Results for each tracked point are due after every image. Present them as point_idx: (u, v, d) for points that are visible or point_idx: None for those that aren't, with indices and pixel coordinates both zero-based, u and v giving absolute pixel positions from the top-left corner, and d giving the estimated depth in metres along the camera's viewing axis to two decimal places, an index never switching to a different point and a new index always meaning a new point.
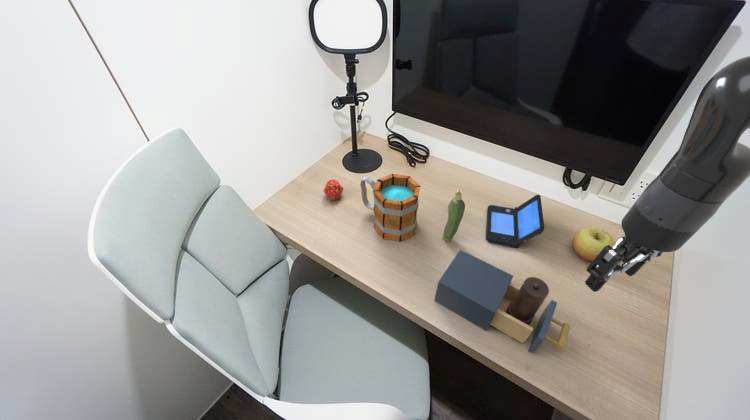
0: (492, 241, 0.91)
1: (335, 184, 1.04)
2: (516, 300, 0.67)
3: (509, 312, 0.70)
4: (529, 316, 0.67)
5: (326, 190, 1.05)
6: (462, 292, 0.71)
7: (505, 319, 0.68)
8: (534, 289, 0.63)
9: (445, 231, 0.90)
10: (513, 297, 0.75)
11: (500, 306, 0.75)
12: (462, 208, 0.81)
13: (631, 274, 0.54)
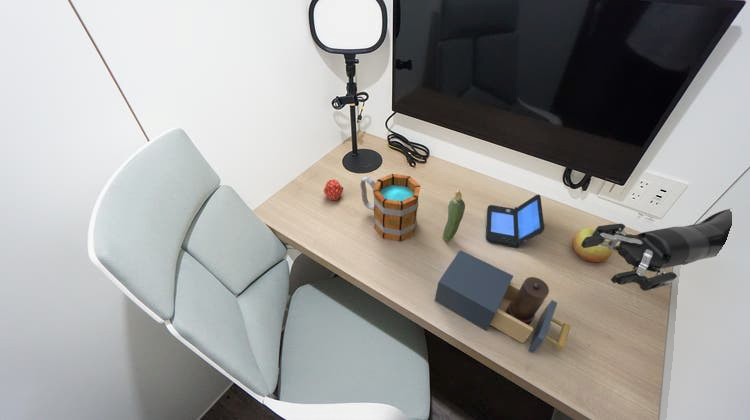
0: (492, 241, 0.91)
1: (335, 184, 1.04)
2: (516, 300, 0.67)
3: (509, 312, 0.70)
4: (529, 316, 0.67)
5: (326, 190, 1.05)
6: (462, 292, 0.71)
7: (505, 319, 0.68)
8: (534, 289, 0.63)
9: (445, 231, 0.90)
10: (513, 297, 0.75)
11: (500, 306, 0.75)
12: (462, 208, 0.81)
13: (617, 274, 0.58)
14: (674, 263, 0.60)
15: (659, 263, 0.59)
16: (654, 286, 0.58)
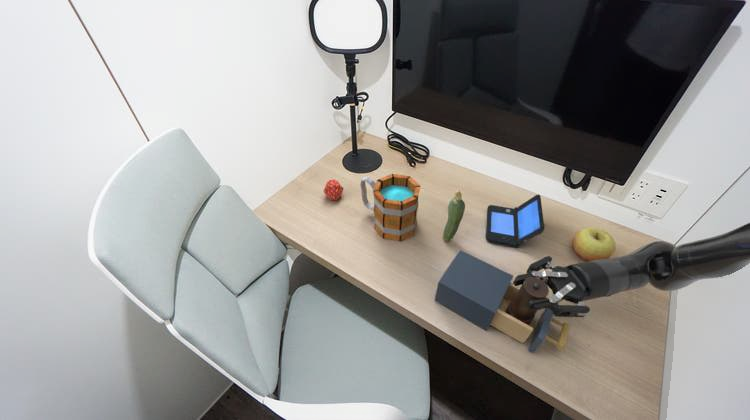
0: (492, 241, 0.91)
1: (335, 184, 1.04)
2: (516, 300, 0.67)
3: (509, 312, 0.70)
4: (529, 316, 0.67)
5: (326, 190, 1.05)
6: (462, 292, 0.71)
7: (505, 319, 0.68)
8: (534, 289, 0.63)
9: (445, 231, 0.90)
10: (513, 297, 0.75)
11: (500, 306, 0.75)
12: (462, 208, 0.81)
13: None
14: (596, 296, 0.63)
15: (581, 296, 0.62)
16: (566, 314, 0.61)
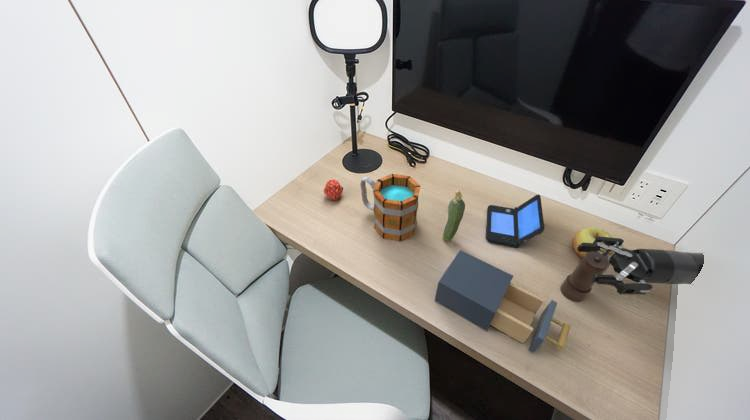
0: (492, 241, 0.91)
1: (335, 184, 1.04)
2: (575, 271, 0.75)
3: (566, 282, 0.78)
4: (585, 287, 0.74)
5: (326, 190, 1.05)
6: (462, 292, 0.71)
7: (505, 319, 0.68)
8: (595, 261, 0.70)
9: (445, 231, 0.90)
10: (513, 297, 0.75)
11: (500, 306, 0.75)
12: (462, 208, 0.81)
13: (597, 274, 0.68)
14: (657, 279, 0.68)
15: (641, 275, 0.67)
16: (630, 292, 0.67)
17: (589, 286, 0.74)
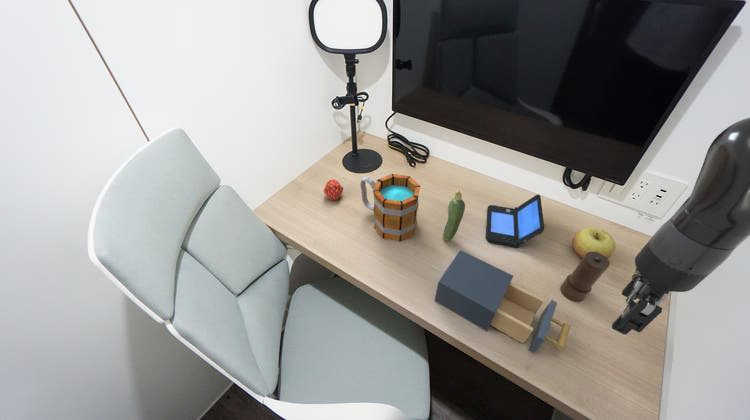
0: (492, 241, 0.91)
1: (335, 184, 1.04)
2: (575, 271, 0.75)
3: (566, 282, 0.78)
4: (585, 287, 0.74)
5: (326, 190, 1.05)
6: (462, 292, 0.71)
7: (505, 319, 0.68)
8: (595, 261, 0.70)
9: (445, 231, 0.90)
10: (513, 297, 0.75)
11: (500, 306, 0.75)
12: (462, 208, 0.81)
13: (635, 298, 0.57)
14: None
15: None
16: None
17: (589, 286, 0.74)
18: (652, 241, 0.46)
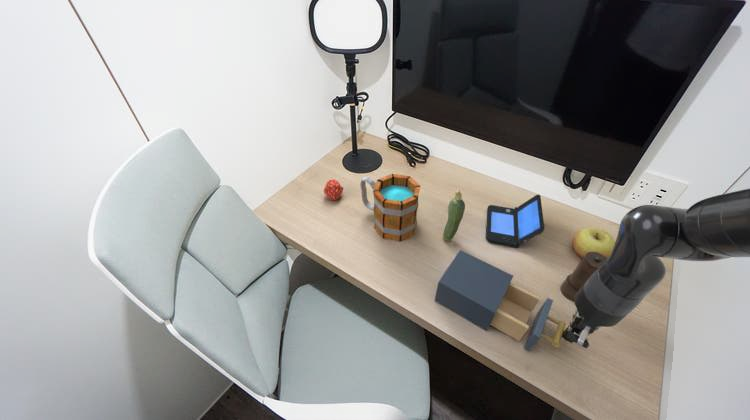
0: (492, 241, 0.91)
1: (335, 184, 1.04)
2: (575, 271, 0.75)
3: (566, 282, 0.78)
4: None
5: (326, 190, 1.05)
6: (462, 292, 0.71)
7: (501, 317, 0.69)
8: (595, 261, 0.70)
9: (445, 231, 0.90)
10: (509, 295, 0.75)
11: None
12: (462, 208, 0.81)
13: None
14: None
15: None
16: None
17: None
18: (585, 286, 0.55)
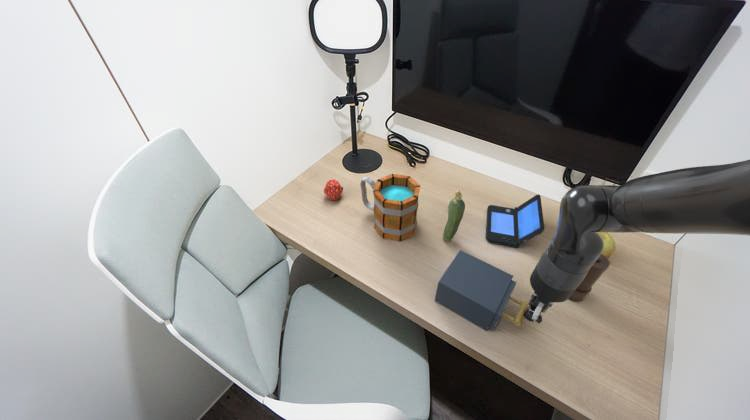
0: (492, 241, 0.91)
1: (335, 184, 1.04)
2: None
3: None
4: (585, 287, 0.74)
5: (326, 190, 1.05)
6: (462, 292, 0.71)
7: None
8: (595, 261, 0.70)
9: (445, 231, 0.90)
10: None
11: None
12: (462, 208, 0.81)
13: None
14: None
15: None
16: None
17: (589, 286, 0.74)
18: (537, 264, 0.59)
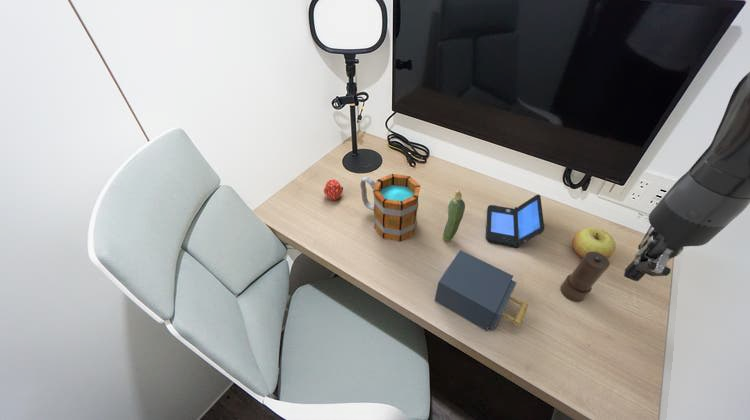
0: (492, 241, 0.91)
1: (335, 184, 1.04)
2: (575, 271, 0.75)
3: (566, 282, 0.78)
4: (585, 287, 0.74)
5: (326, 190, 1.05)
6: (462, 292, 0.71)
7: None
8: (595, 261, 0.70)
9: (445, 231, 0.90)
10: None
11: None
12: (462, 208, 0.81)
13: None
14: None
15: None
16: None
17: (589, 286, 0.74)
18: (668, 197, 0.45)
